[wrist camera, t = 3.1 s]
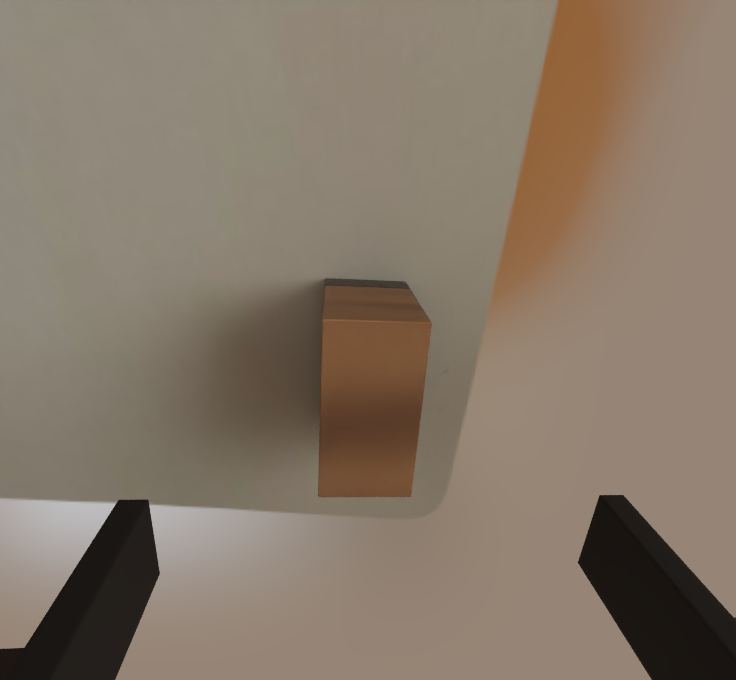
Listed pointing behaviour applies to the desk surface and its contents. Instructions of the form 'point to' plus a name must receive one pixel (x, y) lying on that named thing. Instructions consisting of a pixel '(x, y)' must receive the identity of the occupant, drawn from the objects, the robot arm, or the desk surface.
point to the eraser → (370, 388)
